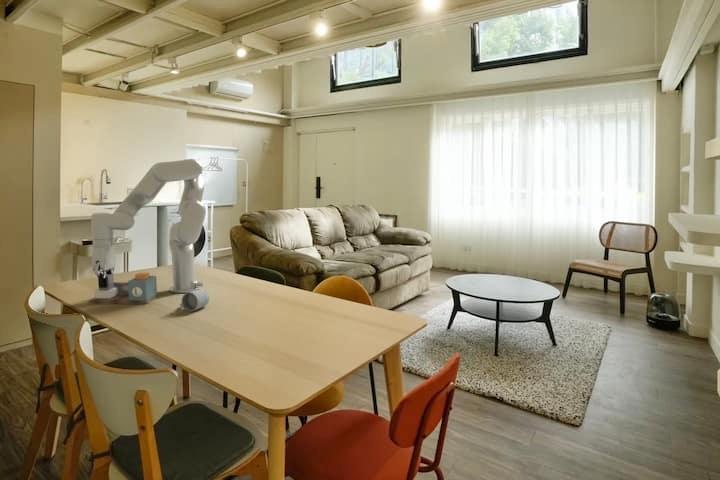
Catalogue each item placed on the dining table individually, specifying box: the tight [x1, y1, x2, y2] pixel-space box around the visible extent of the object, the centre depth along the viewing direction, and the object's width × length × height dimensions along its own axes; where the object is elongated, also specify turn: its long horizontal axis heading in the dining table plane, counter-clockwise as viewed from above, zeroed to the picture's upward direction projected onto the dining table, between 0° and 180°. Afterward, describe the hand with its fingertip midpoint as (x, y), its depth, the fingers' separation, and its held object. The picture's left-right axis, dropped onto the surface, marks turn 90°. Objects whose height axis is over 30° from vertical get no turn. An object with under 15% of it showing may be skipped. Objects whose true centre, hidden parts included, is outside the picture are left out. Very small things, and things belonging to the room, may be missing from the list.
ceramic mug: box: [179, 289, 210, 312], centre depth 169 cm, size 11×8×8 cm
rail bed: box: [88, 281, 158, 305], centre depth 179 cm, size 23×10×7 cm, turn 93°
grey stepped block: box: [93, 274, 119, 298], centre depth 178 cm, size 6×7×9 cm
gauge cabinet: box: [127, 275, 158, 300], centre depth 179 cm, size 7×11×8 cm, turn 3°
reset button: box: [134, 272, 150, 280], centre depth 178 cm, size 4×4×3 cm
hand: (106, 285), depth 178 cm, fingers closed on grey stepped block, 4 cm apart
